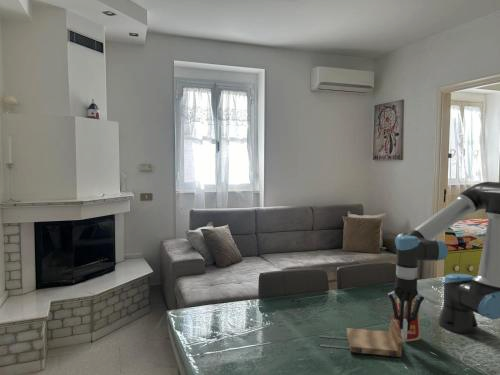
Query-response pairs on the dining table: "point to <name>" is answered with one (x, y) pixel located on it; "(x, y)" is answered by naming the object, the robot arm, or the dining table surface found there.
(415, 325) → the milk carton
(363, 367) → the dining table surface
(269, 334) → the dining table surface
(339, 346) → the rails
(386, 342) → the cart
